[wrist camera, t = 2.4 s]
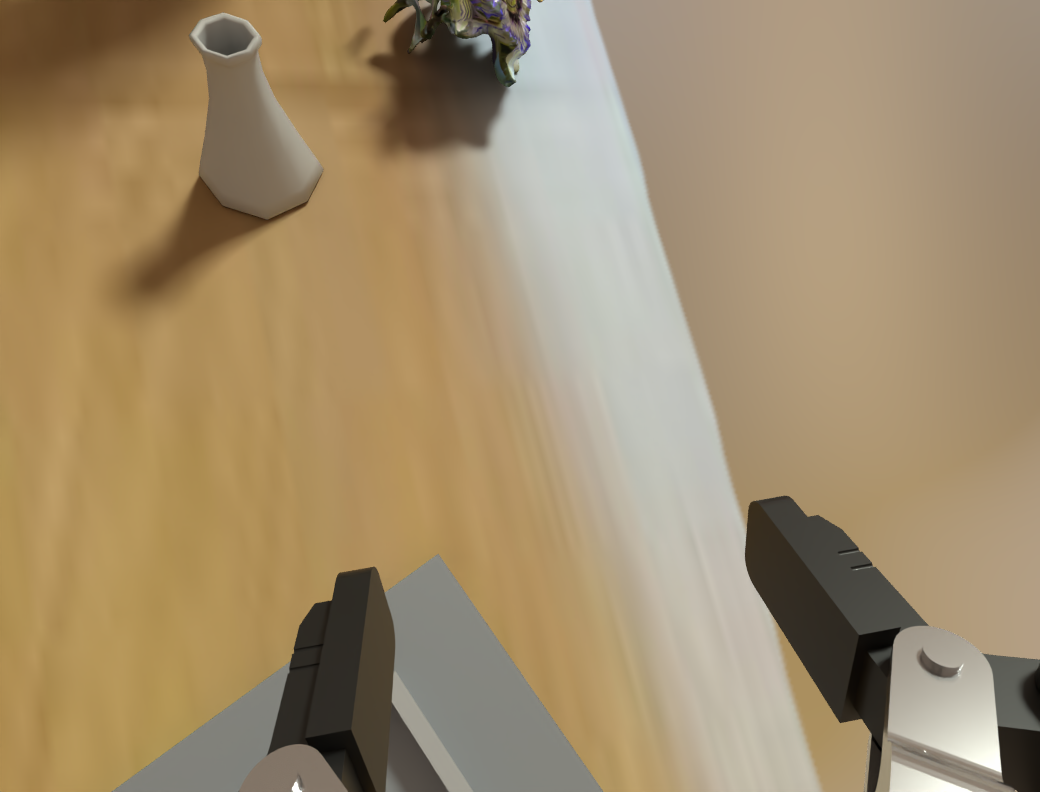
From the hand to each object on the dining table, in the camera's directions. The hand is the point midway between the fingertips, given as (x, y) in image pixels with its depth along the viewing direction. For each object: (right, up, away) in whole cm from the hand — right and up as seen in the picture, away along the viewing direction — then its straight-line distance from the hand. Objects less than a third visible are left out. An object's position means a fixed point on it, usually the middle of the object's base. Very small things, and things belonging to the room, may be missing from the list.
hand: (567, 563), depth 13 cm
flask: (-18, +18, +27) cm, 37 cm away
